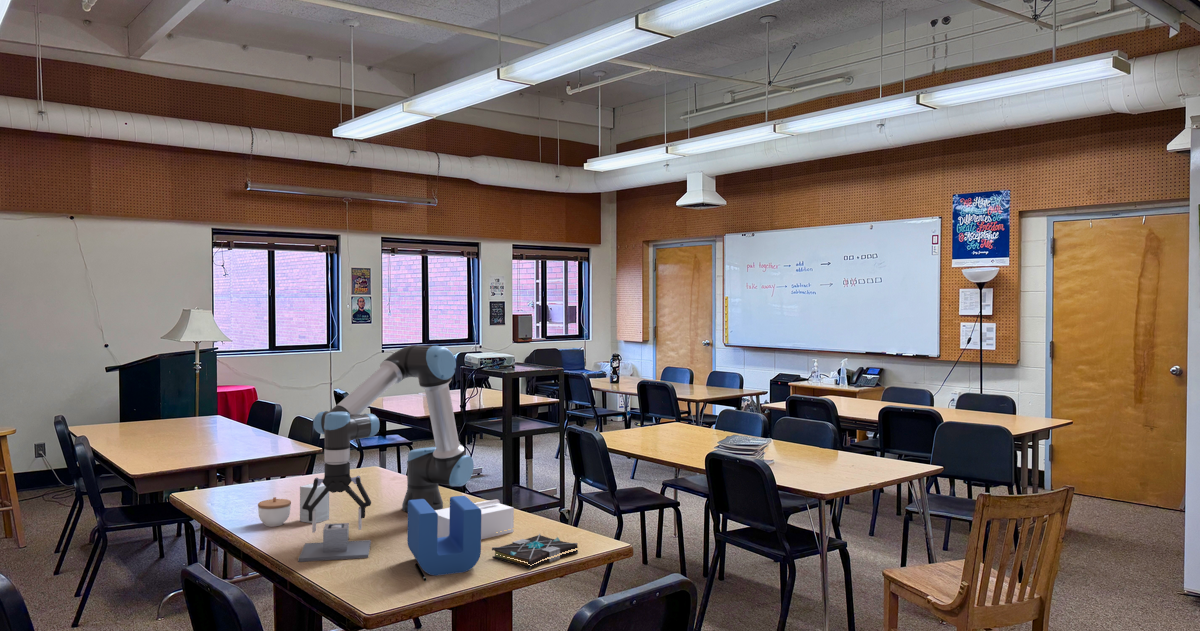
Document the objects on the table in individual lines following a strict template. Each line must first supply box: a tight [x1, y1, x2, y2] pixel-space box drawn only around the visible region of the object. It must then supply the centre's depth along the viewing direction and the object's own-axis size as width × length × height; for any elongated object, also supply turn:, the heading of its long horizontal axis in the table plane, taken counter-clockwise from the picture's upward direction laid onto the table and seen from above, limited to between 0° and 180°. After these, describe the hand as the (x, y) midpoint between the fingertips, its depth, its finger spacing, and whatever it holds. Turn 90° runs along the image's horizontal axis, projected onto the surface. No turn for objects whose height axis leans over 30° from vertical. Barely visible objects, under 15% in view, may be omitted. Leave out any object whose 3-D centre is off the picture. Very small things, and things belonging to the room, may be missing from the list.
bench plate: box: [297, 525, 372, 563], centre depth 245 cm, size 20×16×8 cm
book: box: [491, 533, 579, 570], centre depth 244 cm, size 22×17×5 cm
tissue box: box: [435, 499, 515, 540], centre depth 267 cm, size 14×25×11 cm, turn 134°
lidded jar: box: [257, 497, 292, 528], centre depth 277 cm, size 11×11×9 cm
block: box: [406, 495, 482, 576], centre depth 234 cm, size 18×18×18 cm
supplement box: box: [299, 482, 330, 524], centre depth 283 cm, size 7×7×13 cm
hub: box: [322, 522, 350, 553], centre depth 245 cm, size 7×7×7 cm
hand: (337, 530), depth 246 cm, fingers open, 13 cm apart
